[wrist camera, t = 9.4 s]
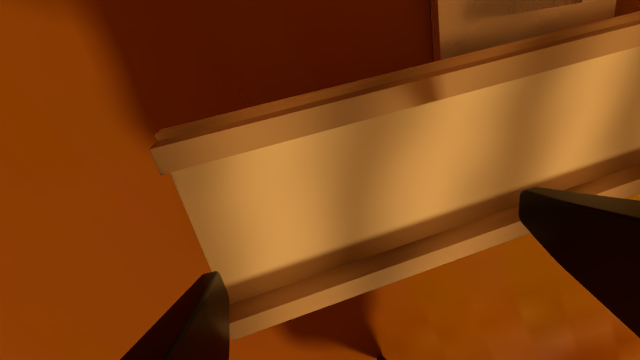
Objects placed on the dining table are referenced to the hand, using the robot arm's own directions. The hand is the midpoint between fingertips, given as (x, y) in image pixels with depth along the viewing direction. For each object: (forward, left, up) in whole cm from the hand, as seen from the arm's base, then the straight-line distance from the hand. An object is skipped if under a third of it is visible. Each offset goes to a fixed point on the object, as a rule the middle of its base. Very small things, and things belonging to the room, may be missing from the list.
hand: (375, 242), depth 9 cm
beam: (-12, 0, -6) cm, 14 cm away
